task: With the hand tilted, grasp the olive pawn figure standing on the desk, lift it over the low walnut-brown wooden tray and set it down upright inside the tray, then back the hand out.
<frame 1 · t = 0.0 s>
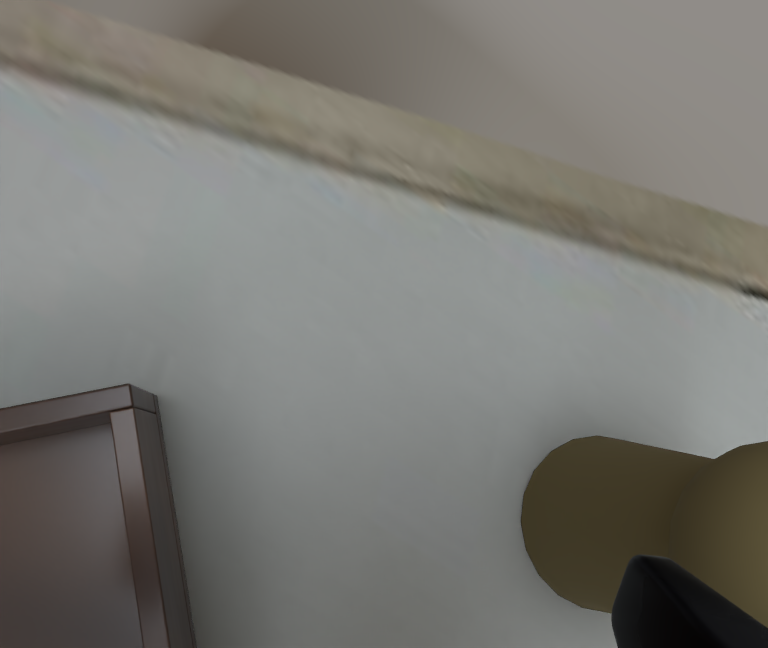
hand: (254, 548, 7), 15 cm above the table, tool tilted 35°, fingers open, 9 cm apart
olive pawn figure: (599, 520, 23), on the table
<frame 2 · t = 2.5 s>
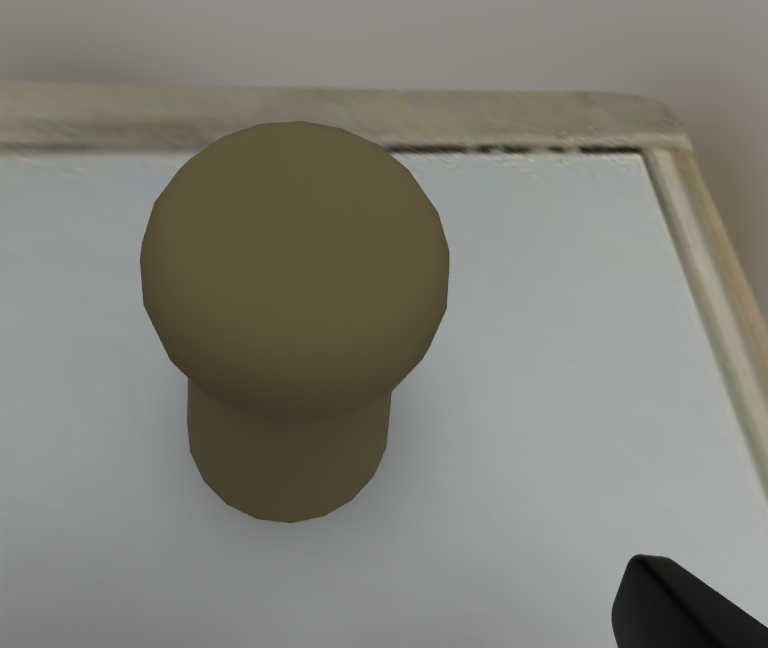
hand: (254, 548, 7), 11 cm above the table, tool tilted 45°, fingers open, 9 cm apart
olive pawn figure: (290, 421, 20), on the table
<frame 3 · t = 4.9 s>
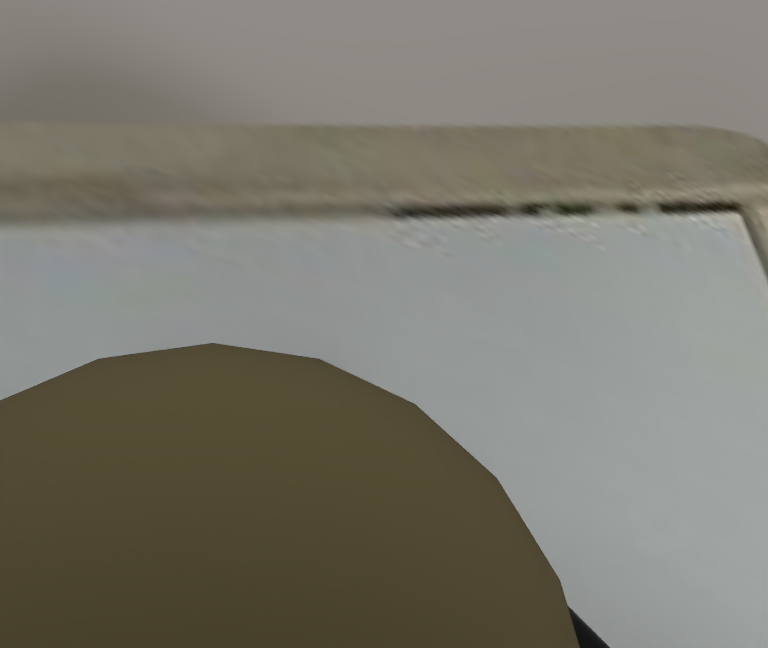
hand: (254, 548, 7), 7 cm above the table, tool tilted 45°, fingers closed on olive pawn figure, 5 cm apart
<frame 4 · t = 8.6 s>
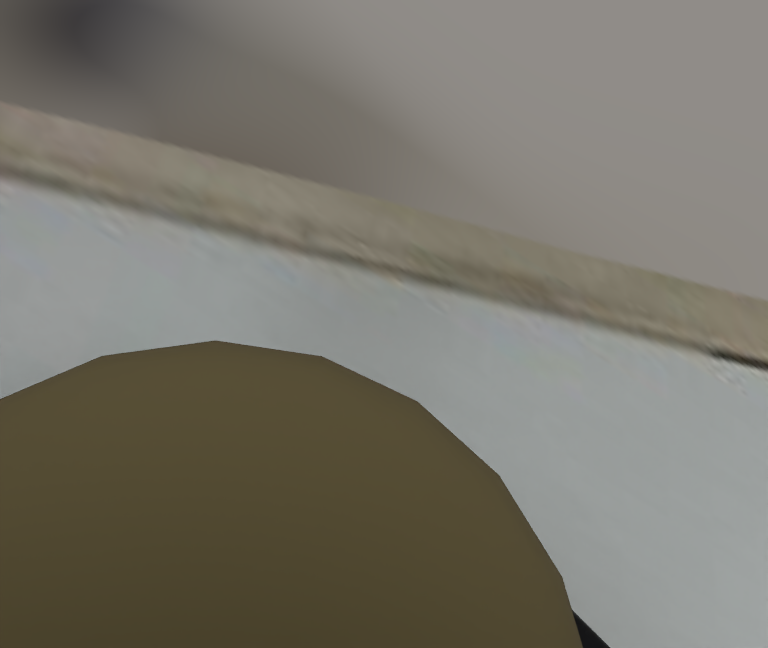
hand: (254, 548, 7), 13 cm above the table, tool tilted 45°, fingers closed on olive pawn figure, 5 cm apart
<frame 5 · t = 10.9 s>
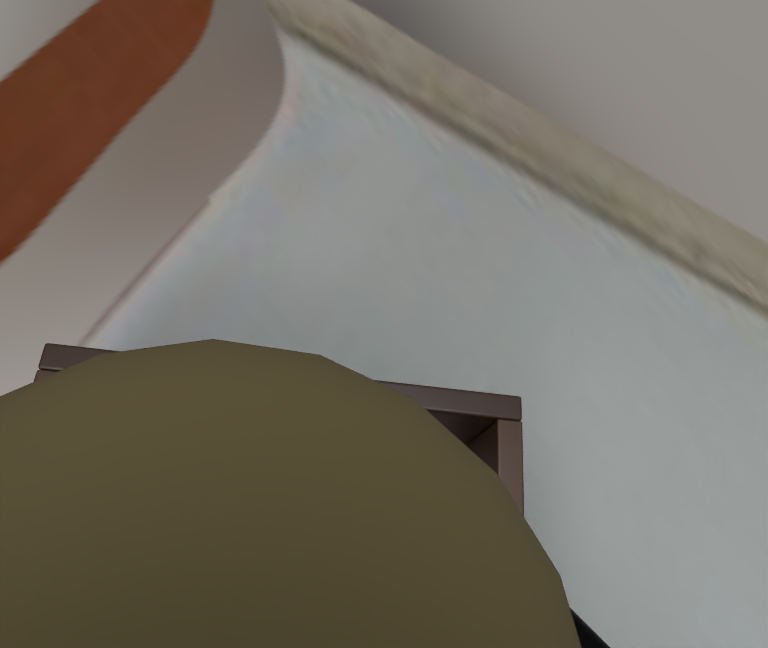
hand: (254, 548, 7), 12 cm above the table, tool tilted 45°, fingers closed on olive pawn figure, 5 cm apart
tray: (261, 627, 17), on the table
when the fingers open (7 cm above the table, at t = 12.7 s): olive pawn figure stays where it is, resting on tray.
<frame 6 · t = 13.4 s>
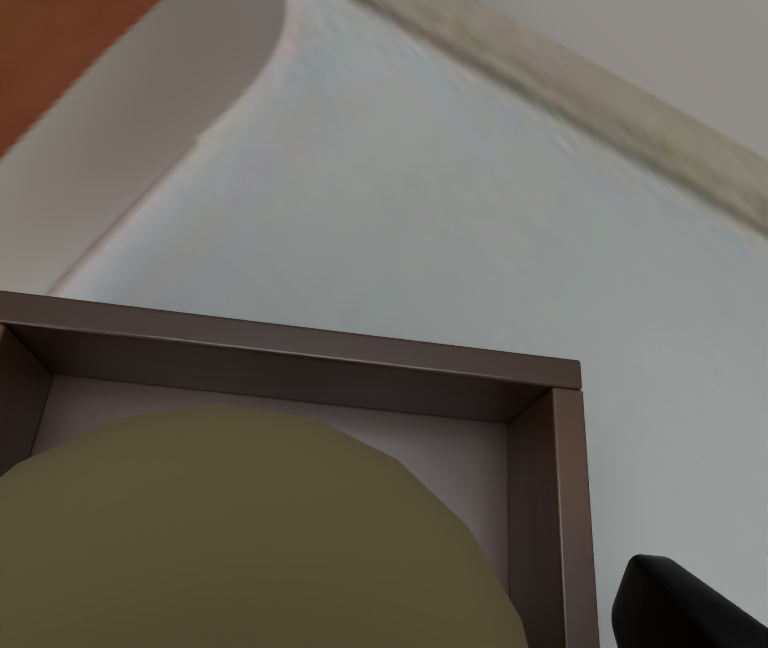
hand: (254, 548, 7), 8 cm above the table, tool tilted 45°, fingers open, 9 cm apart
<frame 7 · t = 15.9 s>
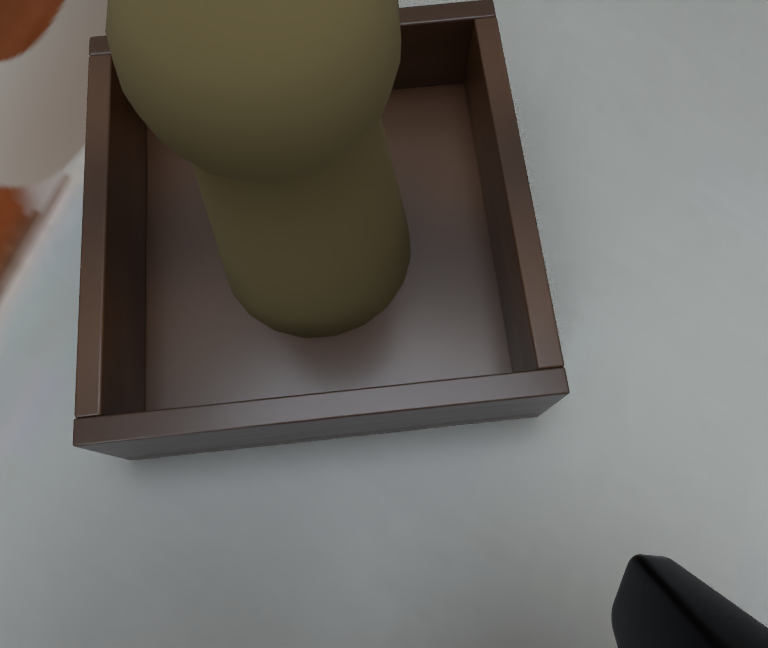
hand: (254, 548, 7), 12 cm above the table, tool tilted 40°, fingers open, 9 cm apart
olive pawn figure: (317, 250, 21), resting on tray
tray: (320, 250, 21), on the table
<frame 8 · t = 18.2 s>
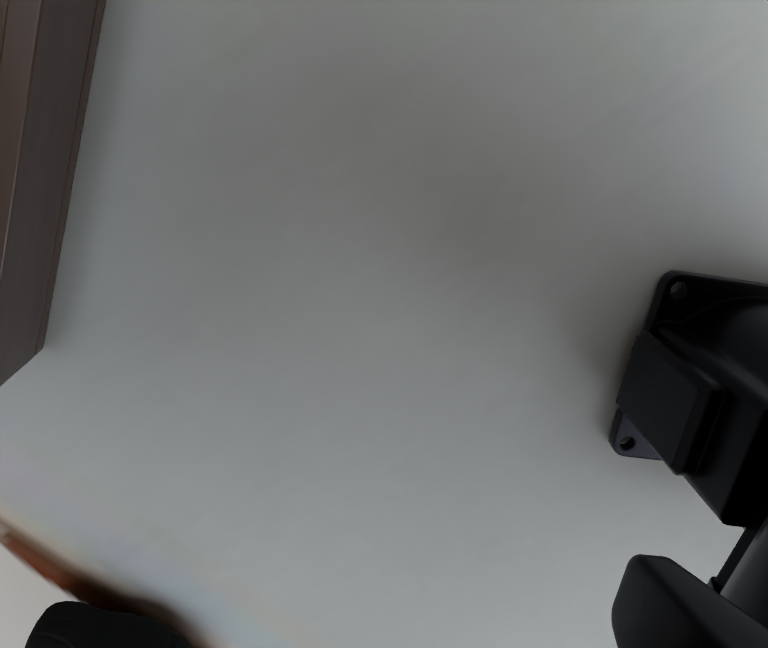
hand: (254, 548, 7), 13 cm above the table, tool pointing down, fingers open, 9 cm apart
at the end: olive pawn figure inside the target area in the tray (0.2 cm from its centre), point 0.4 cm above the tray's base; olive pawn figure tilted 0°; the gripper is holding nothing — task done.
